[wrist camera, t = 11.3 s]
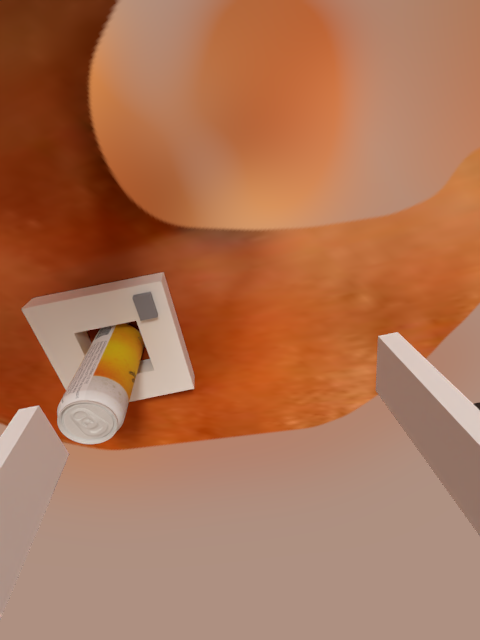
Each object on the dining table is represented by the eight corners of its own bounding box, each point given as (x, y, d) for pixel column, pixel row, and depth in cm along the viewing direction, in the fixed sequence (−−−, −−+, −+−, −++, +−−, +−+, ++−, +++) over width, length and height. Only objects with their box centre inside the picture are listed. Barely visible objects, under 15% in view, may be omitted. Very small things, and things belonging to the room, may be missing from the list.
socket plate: (32, 297, 40) (17, 312, 36) (163, 271, 40) (160, 283, 37) (84, 397, 47) (76, 416, 44) (194, 375, 48) (194, 392, 44)
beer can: (118, 365, 46) (85, 456, 32) (86, 334, 43) (37, 418, 30) (154, 345, 45) (135, 429, 31) (124, 311, 42) (90, 388, 29)
